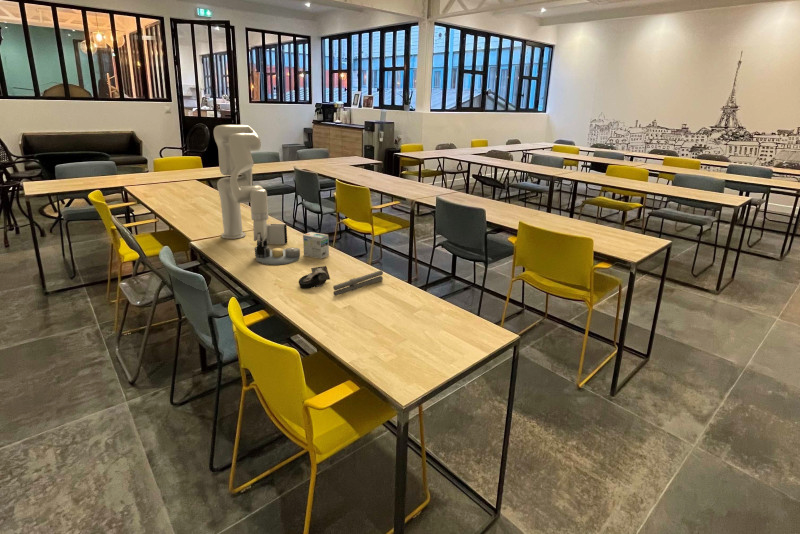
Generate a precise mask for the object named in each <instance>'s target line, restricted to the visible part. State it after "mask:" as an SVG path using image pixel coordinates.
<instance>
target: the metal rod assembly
mask: <svg viewBox="0 0 800 534" xmlns="http://www.w3.org/2000/svg"><path fill="white" fill-rule="evenodd" d="M382 275H384V273H383V271H382V270H381V269H380V270H378V271H374V272H371V273H368V274H364V275H362V276H359V277H356V278H355V277H354V278H351V279H349V280H347V281H344V282H340V283H338V284H335V285H333V290H334V291H333V296H335V297H336V296H339V295H342V294H343V295H344V294H346V293H349V292H353V291H357V290H358V289H361V288H364V287H367V286H370V285H372V284H374V283H378V282H381V281H383V279H384V278H383V276H382Z"/></svg>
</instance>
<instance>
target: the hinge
mask: <svg viewBox="0 0 800 534" xmlns="http://www.w3.org/2000/svg"><path fill="white" fill-rule="evenodd" d="M287 231H288V229H287V224H286V223H267V237H266V238H267V240H265V241H267V245H287V244H288V232H287Z"/></svg>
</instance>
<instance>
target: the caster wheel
mask: <svg viewBox="0 0 800 534" xmlns="http://www.w3.org/2000/svg"><path fill="white" fill-rule="evenodd" d="M330 280H331V277H330V274H329V271H328V267H327V265H323V266H315V267H311V272H310V273H308V274H306V275H303V276H302V277H300V278H299V280H298V284H299V288H300V289H302V290H311V289H314V288H321V287H323V286H324V285H326V282H327V281H330Z"/></svg>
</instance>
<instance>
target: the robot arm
mask: <svg viewBox="0 0 800 534" xmlns="http://www.w3.org/2000/svg"><path fill="white" fill-rule="evenodd" d="M213 138H214V141H215V143H216V146H217V150H218V165H219V171H220V174H221V175H222V176H227V177H221V178H220V179H218V180H217V182H216V183H217V185H216V187H217V191H218V195H219V200H220V206H221V207H220V208H221V216H222V217H221V218H222V226H223V232H222V233H221V234H220V237H221V238H223V239H226V240H236V239H241V238H244V237H246V234H247V233H246V232H245V231H243V223H242V222H243V221H242V209H241V204H244V203H250V213H251V214H250V215H251V220H252V221H253V223H252V224H253V226H252V227H253V228H252V229H253V241H254V242H256V247H257V255H264V254H265V253H264V246H268V244H267V241H265V240H267V238H266V237H267V224H268V223H267V221H268V220H269V208H268V207H269V206H268V191H267V189H264V187H263V186H261V185H256V184H255V185H253V167H254V163H255V162H254V159H253V156H252V153H251V152H256V151H260V150H261V146H262V144H261V143H262V142H261V139H260V137H259V135H258V133H257V132H256V131H255V130H254V128H252V127H251V126H250V125H248V124H220V125H219V124H218V125H215V127H214V128H213ZM229 176H230V177H229Z"/></svg>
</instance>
